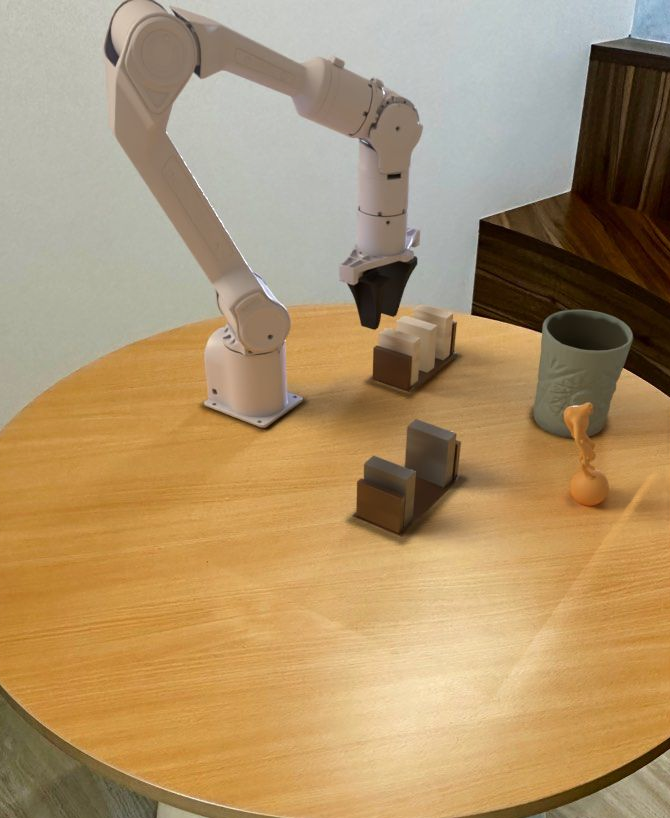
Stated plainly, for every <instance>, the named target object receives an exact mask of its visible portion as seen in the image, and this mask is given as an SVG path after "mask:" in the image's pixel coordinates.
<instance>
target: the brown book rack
mask: <svg viewBox="0 0 670 818" xmlns="http://www.w3.org/2000/svg"><path fill="white" fill-rule="evenodd" d="M457 435H458V434H457V432H454V431H451V430H448V429H446V428H443V427H440V426H437V425H435V424H431V423H429V422H426V421H423V420H421V419H417V418H415V419H414V420H413V421H412V422H410V423H409V424H408V425H407V426H406V438H405V439H406V440H405V457H404V466H402V465H400V464H397V463H396V462H395V463H394V462H392V461H390V460H387V459H384V458H383V457H382V458H381V457H379V456H377V455H372V456H371V457H369V458H368V459H367V460H366V461H365V462H364V463H363V478H359V479H358V480H357V481H356V506H355V507H356V511H355V512H354V513H353V514H352V515H351V516H352V517H353V518H354V519H357V520H360V521H362V522H364V523H367V524H369V525H371V526H373V527H376V528H379V529H381V530H384V531H385V532H388V533H391V534H393V535H395V536H398V537H400V538H403V536H405V534H406V533H407V532H408V531H410V530H411V528H412V527H414V525H415V524H416V523H417V522H418V521H419V520H420V519H421V518H422V517H423V516H424V515H425V514H426V513H427V511H429V510H430V509H431V508H432V507H433V506H434V505H435V504H436V503H437V502H438V501H439V500H440V499H441V498H442V497H443V496H444V495H445V494H446V492H448V491H449V490H450V488H451V487H453V486H454V485H455V484H456V483H457V482H458V480H460V478H462V474H461V475H460V474H459V464H460V455H461V446H462V441H461V440H458V439H457Z"/></svg>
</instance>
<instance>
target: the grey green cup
mask: <svg viewBox="0 0 670 818" xmlns="http://www.w3.org/2000/svg"><path fill="white" fill-rule="evenodd" d="M541 330H542V331H541V340H540V355H539V363H538V372H537V382H536V392H535V396H534V397H535V398H534V404H533V418H534V421H535V423H536V424H537V426H539V427H540V428H541V429H542V430H543V431H546V432H548V433H550V434H553V435H556V436H559V437H564V438H570V439H571V438H573V437H572V435H571V431H570V430H569V429H568V427H567V425H566V423H565V421H564V411H565V409H566V408H568V407H569V406H574V405H576V406H579V405H583V404H585V403H591V404H592V405H593V408H592V409H593V410H594V411H593V413H591V414H590V415H588V417H589V424H588V427H587V430H586V435H587V436H588V437H591V436H594V435H596V434H598V433H599V432H600V431H601V430H603V428H604V425H605V424H606V421H607V417H608V415H609V411H610V408H611V402H612V399H613V396H614V394H615V392H616V390H617V383H618V381H619V378H620V377H621V374H622V372H623V369H624V366H625V364H626V361H627V357H628V355H629V352H630V349H631V346H632V344H633V340H634V335H633V332H632V330H631V327H630V326H628V325H627V324H626V322H624V321H623V320H621V319H619V318H617V317H615V316H614V315H610V314H607V313H604V312H600V311H595V310H589V309H567V310H561V311H557V312H554V313H552V314H551V315H549V316H547V317H546V319H544V320H543V323H542V329H541ZM573 439H574V438H573Z"/></svg>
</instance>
